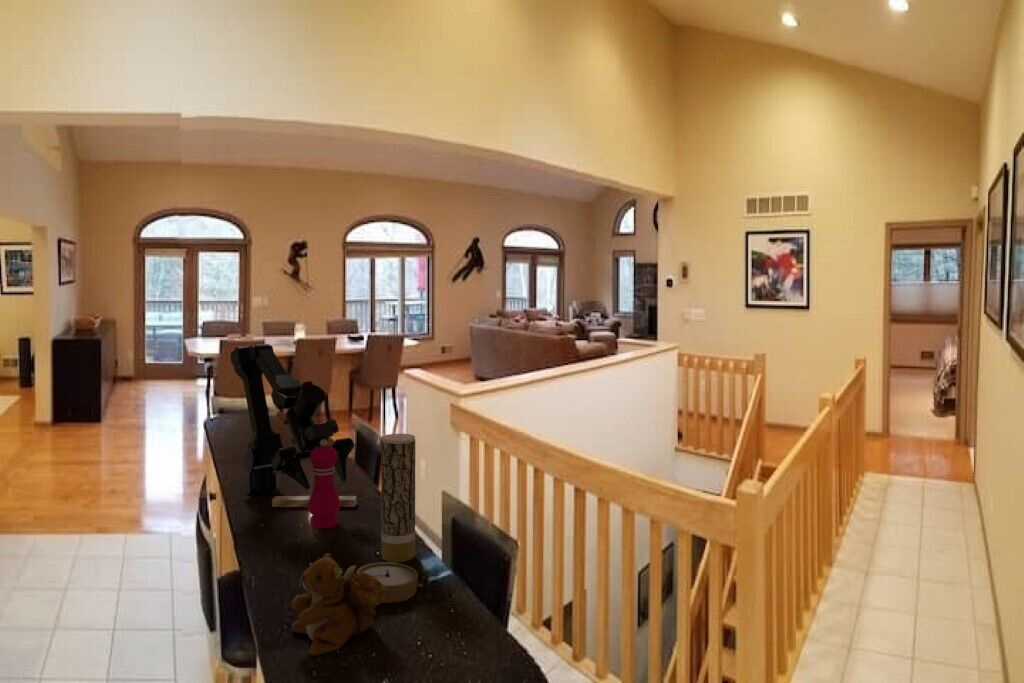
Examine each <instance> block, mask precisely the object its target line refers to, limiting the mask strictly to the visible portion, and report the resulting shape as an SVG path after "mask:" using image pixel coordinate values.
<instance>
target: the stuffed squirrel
mask: <svg viewBox="0 0 1024 683" xmlns="http://www.w3.org/2000/svg"><path fill="white" fill-rule="evenodd" d="M343 571H344V570H343V568H341V567H340V566H339V564H338V563H337V562H336V561H335V560H334V559H333V558H332V555H331V553H325V554H324V556H323V557H321V558H319V559H317V560H316V561H315V562H313V563H312V564H311V565H310V566H308V568H306V570H305V571H304V572H303V573H302V575H301V577H300V578H299V580H298V582H299V584H298V587H299V588H300V587H301V585H302V587H303V589H304V590H306V591H307V592H306V593H302V594H298V595H295V597H294V598H293V599H292V601H291V608H292V609H293V610H294V611H295V612H299V614H298V619H297V620H295V621H293V622H292V624H291V630H292V632H294V633H297V634H304V635H307V636H308V637H309V639H310V640H311V641H313V642H311V644H310V647H309V652H308V653H309V655H311V656H314V657H316V656H320V655H324V654H327V653H330V652H333V651H336V650H338V649H341V647H342V646H344V645H345V644H346V642H348V640H349V639H350V638H351V637H352V636H357V635H359V634H361V633H363V632H365V631H366V630H368V629H369V627H370V626H372V624H373V623H374V621H375V619H374V618H375V615H376V614H377V612H376V607H377V606H379V605H380V604H381V602H382V601H383V600H384V596H385V593H384V592H383V591H384V590H386V588H384V587H385V586H384V585H383V584H382V583H381V582H380V581H379V580H377V579H376V578H373V576H371V575H370V574H366V573H360V574H357V573H356V574H353V575H351V576H349V578H348V579H346V580H345V581H343V583H342V582H341V577H342V575H343Z"/></svg>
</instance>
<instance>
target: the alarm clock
mask: <svg viewBox="0 0 1024 683" xmlns="http://www.w3.org/2000/svg"><path fill="white" fill-rule="evenodd" d="M356 573H357V574H360V573H366V574H370V575H371V576H373V578H376V579H377V580H379V581H380V582H381V583H382V584H383V585H384V586H385V587H384V588H386V590H384V591H383V592H384V593H385V596H384V600H383V601H382V602H381V603H382V604H392V603H399V602H404V601H407V600H409V599H411V598H412V597H414V595H415V594H416V593H417V591H418V590H417V589H418V588H423V586H424V584H422V583H420V582H418V577H419V574H418V571H417V570H416V569H415V568H413V567H411V566H409V565H407V564H404V563H392V562H388V561H385V562H384V561H383V562H382V561H381V562H380V561H379V562H374V563H369V564H365V565H362V566H361V567H359V568H358V566H357V565H351V566H349V567H348V568H347V570H346V571H345V573H344V575H343V576H342V575H341V582H342V583H343V582H344V581H345V580H346V579H348V578H349V576H351V575H353V574H356ZM417 587H418V588H417ZM381 603H380V604H381Z"/></svg>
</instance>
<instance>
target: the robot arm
mask: <svg viewBox="0 0 1024 683" xmlns="http://www.w3.org/2000/svg"><path fill="white" fill-rule="evenodd" d="M229 357H230V362H231V363H232V365H233V366H232V367H233V371H234V372H235V374H236V376H238V377H239V378H240V380H242V382H243V387H244V389H243V390H244V394H245V400H246V406H247V410H248V418H249V420H250V421H249V424H250V429H251V432H252V434H251V436H250V439H249V441H248V444H247V449H248V450H247V452H246V454H245V456H244V458H243V460H242V466H243V470H244V471H247V473H248V476H249V477H248V481H249V482H248V484H249V490H248V491H247V495H274V493H276V492H277V491H278V489H279V488H278V487H280V483H279V481H280V478H279V475H280V473H281V474H285V475H287V476H288V477H290V478H291V479H293V480H294V481H295V482H297V483H298V484H299V485H300V486H301V487H302V488H304V489H305V490H307V491H308V490H310V487H311V486H310V483H309V480H308V478H307V475H306V473H305V470H304V469H303V466H302V463H301V462H302V461H303V460H307V459H309V460H310V455H311V452H312V450H313V449H314V448H315V447H317V446H320V440H321V439H326V440H327V441H328V442H329V439H328V438H330V437H334V434H337V433H338V432H339V426H338V423H337V421H336V418H335V419H334V418H331V419H328V420H326V421H325V422H322V423H315V421H314V419H313V417H315V416H316V415H317V414H318V412H319V410H320V409H321V407H322V405H323V403H324V401H326V400H325V399H326V397H327V396H326V392H325V390H324V389H322V388H321V387H320V386H318V385H316V384H313V382H312V380H310V381H309V380H307V381H303V382H302V383H301V382H300V380H298V379H296V378H294V377H291V376H290V375H289V373H288V371H287V370H286V369H285V367H284V366H283V364H282V363H281V361H280V359H279V358H278V357H277V355H276V354H275V352H274V348H273V345H272V344H268V343H262V344H253V345H243V346H235V348H234V349H233V350H232V351H231V353H230V354H229ZM263 376H264V377H265V379H266V380H267V382H268V383H269V386H270V388H271V389H272V390H271V394H270V397H271V400H272V403H273V405H274V407H275V408H276V409H277V410H278V411H279V410H281V411H283V410H287V412H286V413H285V416H284V419H283V425H284V426H287V425H288V427H289V430H290V434H291V435H292V440H291V442H292V444H293V445H296V447H297V448H296V447H295V446H288V447H283V444H282V437H281V435H280V433H276V432H275V431H274V430H273V428H272V425H271V420H270V413H269V408H268V404H267V399H266V393H265V387H264V382H263V381H264V380H263ZM331 446H332V447H333V448H334V449H335V450H336V452H337V460H336V462H335V463H334V466H335V472H336V473H337V475H338V477H339V478H340V480H341V481H342V482H343V483H346V481H347V465H346V464H347V459H348V457H349V455H351V453H352V451H353V450H354V448H355V446H356V445H355V443H354V441H353V439H352V438H351V437H344V438H338V439H337V438H336V439H335V440H334V441H333V443H332V444H331ZM297 449H298V451H297ZM279 472H280V473H279Z"/></svg>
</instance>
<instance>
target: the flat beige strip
mask: <svg viewBox="0 0 1024 683" xmlns="http://www.w3.org/2000/svg"><path fill="white" fill-rule="evenodd" d="M310 496H311V495H295V496H294V495H290V496H289V495H288V496H287V495H283V496H282V495H278V496H277V495H276V496H274V497H273V498H272V500H271V507H304V508H303V509H306V507H307V509H308V502H309V498H310ZM338 496H339V499H340V507H355V508H356V506H355V505H357V495H338Z"/></svg>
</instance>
